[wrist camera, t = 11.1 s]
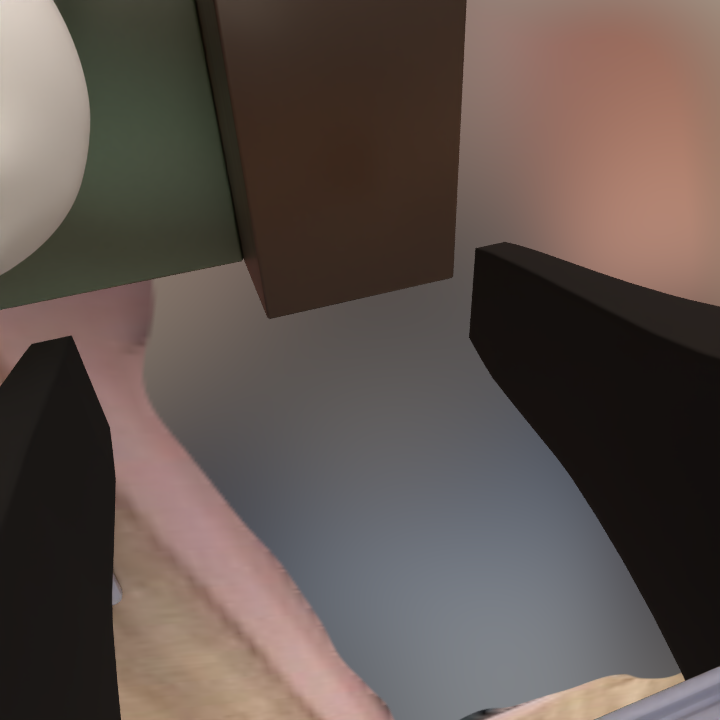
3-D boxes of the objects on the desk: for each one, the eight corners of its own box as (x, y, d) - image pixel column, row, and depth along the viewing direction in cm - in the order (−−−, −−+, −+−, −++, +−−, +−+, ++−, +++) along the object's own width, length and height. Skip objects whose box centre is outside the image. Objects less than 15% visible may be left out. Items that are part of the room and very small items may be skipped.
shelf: (369, 187, 21) (454, 278, 16) (-43, 262, 18) (-96, 403, 13) (344, -391, 13) (496, -567, 8) (-390, -420, 10) (-851, -719, 5)
